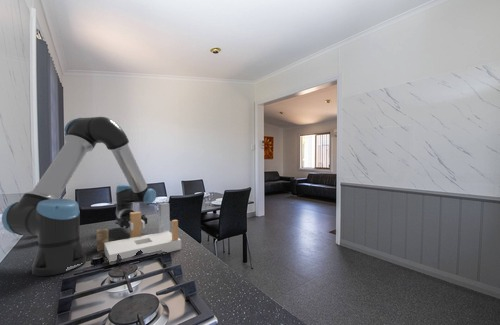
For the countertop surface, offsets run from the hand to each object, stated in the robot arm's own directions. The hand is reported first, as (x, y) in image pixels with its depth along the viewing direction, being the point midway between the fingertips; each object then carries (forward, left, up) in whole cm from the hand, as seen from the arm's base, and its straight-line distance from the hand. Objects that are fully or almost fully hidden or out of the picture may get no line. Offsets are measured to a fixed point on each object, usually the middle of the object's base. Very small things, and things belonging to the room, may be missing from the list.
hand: (138, 226), depth 108 cm
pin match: (0, +5, -7) cm, 9 cm away
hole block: (0, -9, -8) cm, 12 cm away
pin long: (+13, +5, -8) cm, 16 cm away
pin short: (-13, +5, -8) cm, 16 cm away
